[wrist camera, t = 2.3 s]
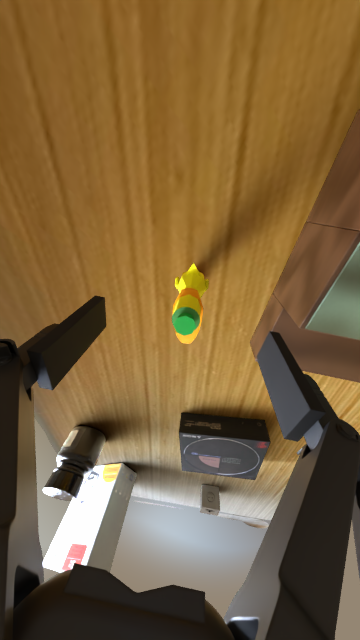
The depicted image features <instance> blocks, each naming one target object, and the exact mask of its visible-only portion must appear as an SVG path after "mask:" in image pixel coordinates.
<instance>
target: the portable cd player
mask: <svg viewBox="0 0 360 640" xmlns="http://www.w3.org/2000/svg"><path fill="white" fill-rule="evenodd" d="M179 438H180V451H181V463H182V471H189V472H197V473H205V474H212V475H220V476H228V477H235V478H243V479H251V480H255V479H256V477H257V474H258V472H259V469H260V467H261V464H262V462H263V459H264V457H265V454H266V452H267V449H268V447H269V445H270V438H269V435H268V431H267V427H266V423H265V420H256V419H245V418H234V417H223V416H212V415H201V414H190V413H181V421H180V429H179Z"/></svg>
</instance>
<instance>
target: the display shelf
mask: <svg viewBox="0 0 360 640" xmlns="http://www.w3.org/2000/svg"><path fill="white" fill-rule="evenodd" d="M269 331H273V332H278V333H280V335H281V336H282V338H283V340H284V341H285V343H286V345H287V347H288V348H289V350H290V352H291V353H292V355H293V357H294V358H295V360H296V362H297V363H298V365H299V367H300V369H301V370H302V371H306V372H311V373H316V374H321V375H325V376H330V377H335V378H340V379H345V380H350V381H354V382H359V383H360V109H359V110H358V112H357V114H356V116H355V118H354V120H353V122H352V125H351V127H350V129H349V131H348V133H347V135H346V137H345V140H344V142H343V144H342V146H341V148H340V150H339V152H338V154H337V157H336V159H335V161H334V163H333V165H332V167H331V169H330V172H329V174H328V176H327V178H326V180H325V182H324V184H323V187H322V189H321V191H320V193H319V195H318V197H317V199H316V202H315V204H314V206H313V208H312V210H311V212H310V214H309V217H308V219H307V221H306V223H305V225H304V227H303V229H302V231H301V234H300V236H299V238H298V240H297V242H296V244H295V246H294V249H293V251H292V253H291V255H290V257H289V259H288V261H287V264H286V266H285V268H284V270H283V272H282V274H281V276H280V279H279V281H278V283H277V285H276V287H275V289H274V291H273V294H272V296H271V298H270V300H269V302H268V304H267V306H266V309H265V311H264V313H263V315H262V317H261V319H260V321H259V324H258V326H257V328H256V330H255V332H254V334H253V336H252V339H251V341H250V344H251V348H252V351H253V354H254V357H255V360H256V361H258V360H257V355H258V353H259V351H260V349H261V347H262V345H263V343H264V341H265V339H266V337H267V335H268V333H269Z"/></svg>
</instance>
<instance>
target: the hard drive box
mask: <svg viewBox="0 0 360 640" xmlns="http://www.w3.org/2000/svg"><path fill="white" fill-rule="evenodd" d="M136 475H137V474H136V473H135V472H133V471H132V470H131V469H129V468H128V467H127V466H126V465H124V464H123V463H119V464H110V465H102V466H95V467H94V469H93V470H92V471H91V472H90V473H87V475H85V476H84V481H83V483H82V486H81V488H80V490H79V492H78V495H77V497H76V499H75V500H74V501H71V503H70V505H69V508H68V510H67V512H66V514H65V516H64V518H63V520H62V522H61V525H60V527H59V529H58V531H57V533H56V535H55V537H54V540H53V542H52V544H51V546H50V548H49V550H48V552H47V554H46V557H45V559H44V561H43V567H45V568H48V569H52V570H54V571H57V572H63V571H66V570H70V569H72V567H73V565H74V563H78V564H82V565H87V566H91V567H95V568H100V569H104V570H107V571H108V572H109V573H110V570H111V566H112V562H113V558H114V555H115V551H116V547H117V544H118V540H119V536H120V532H121V529H122V526H123V522H124V518H125V514H126V511H127V507H128V503H129V500H130V496H131V493H132V489H133V486H134V482H135V478H136Z"/></svg>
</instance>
